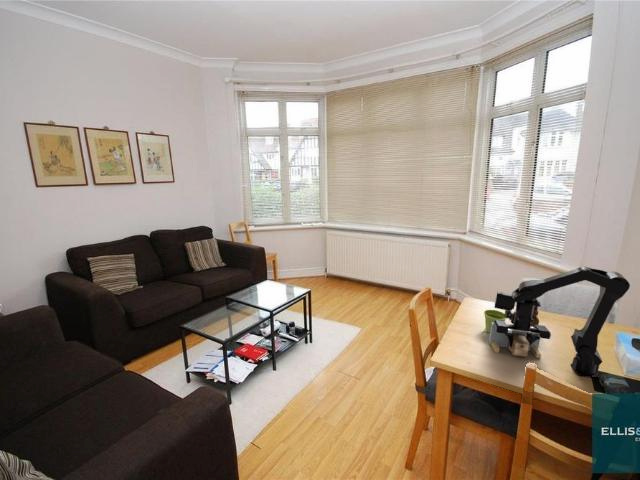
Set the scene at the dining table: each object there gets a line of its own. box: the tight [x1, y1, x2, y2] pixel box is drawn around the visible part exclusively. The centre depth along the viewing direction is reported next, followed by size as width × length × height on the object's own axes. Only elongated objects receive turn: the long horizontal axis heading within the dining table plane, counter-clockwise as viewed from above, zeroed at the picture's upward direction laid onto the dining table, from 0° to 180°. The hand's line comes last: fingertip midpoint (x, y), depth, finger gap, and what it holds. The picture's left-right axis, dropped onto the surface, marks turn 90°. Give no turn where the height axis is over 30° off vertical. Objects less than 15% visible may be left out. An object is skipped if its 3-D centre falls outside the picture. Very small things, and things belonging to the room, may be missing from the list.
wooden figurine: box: [530, 306, 540, 327], centre depth 140 cm, size 7×6×15 cm
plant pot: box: [483, 309, 508, 334], centre depth 141 cm, size 9×9×9 cm
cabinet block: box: [507, 333, 530, 358], centre depth 124 cm, size 5×7×6 cm
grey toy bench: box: [488, 322, 542, 359], centre depth 126 cm, size 18×6×10 cm, turn 74°
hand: (517, 347), depth 124 cm, fingers closed on cabinet block, 5 cm apart
